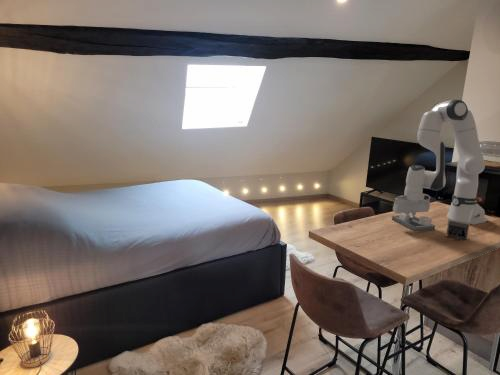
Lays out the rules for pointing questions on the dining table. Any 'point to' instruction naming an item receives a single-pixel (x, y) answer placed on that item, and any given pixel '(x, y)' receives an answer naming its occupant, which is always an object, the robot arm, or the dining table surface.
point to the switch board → (413, 224)
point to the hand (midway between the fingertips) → (409, 219)
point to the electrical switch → (457, 229)
